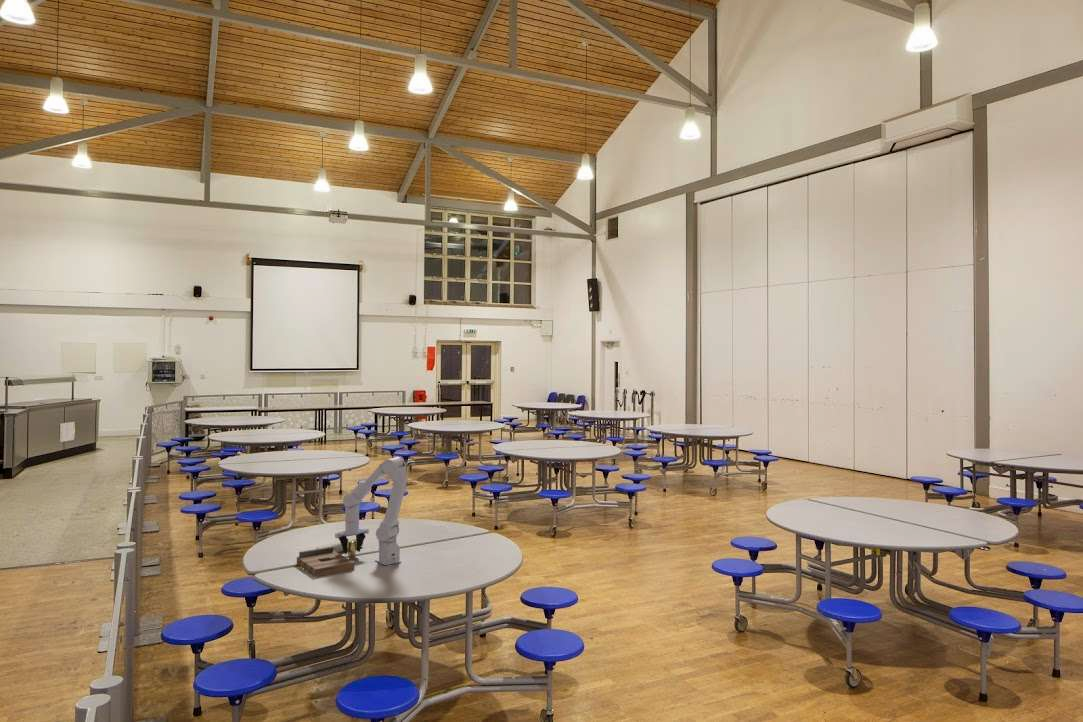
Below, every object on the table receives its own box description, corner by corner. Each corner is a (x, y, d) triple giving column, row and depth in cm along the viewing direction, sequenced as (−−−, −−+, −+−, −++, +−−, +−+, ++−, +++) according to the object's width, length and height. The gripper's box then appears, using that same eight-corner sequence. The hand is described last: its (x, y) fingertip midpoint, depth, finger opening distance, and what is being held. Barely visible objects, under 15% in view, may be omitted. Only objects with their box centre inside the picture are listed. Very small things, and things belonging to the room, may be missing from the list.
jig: (354, 569, 272) (354, 557, 272) (315, 577, 262) (315, 564, 262) (334, 557, 289) (334, 546, 289) (296, 564, 279) (296, 552, 279)
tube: (320, 551, 286) (364, 538, 307) (312, 545, 289) (357, 533, 310) (317, 562, 287) (362, 549, 308) (309, 556, 290) (354, 543, 311)
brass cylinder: (356, 558, 289) (357, 541, 289) (349, 559, 287) (349, 543, 287) (353, 556, 291) (354, 540, 291) (346, 557, 289) (347, 541, 289)
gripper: (364, 517, 297) (364, 547, 297) (332, 521, 288) (332, 553, 288) (370, 519, 291) (370, 551, 291) (338, 524, 282) (338, 556, 282)
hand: (351, 552), depth 289 cm, fingers open, 5 cm apart
